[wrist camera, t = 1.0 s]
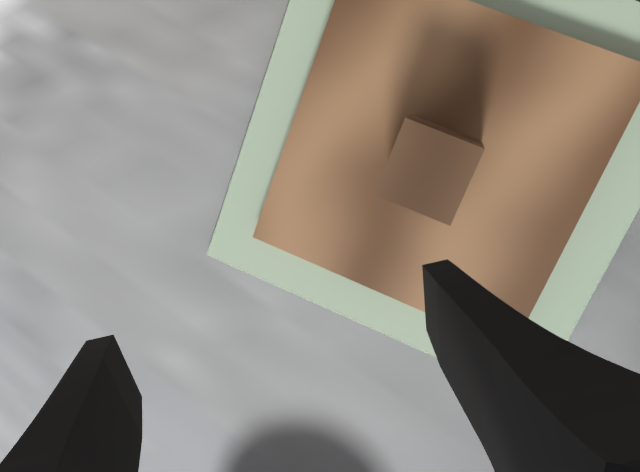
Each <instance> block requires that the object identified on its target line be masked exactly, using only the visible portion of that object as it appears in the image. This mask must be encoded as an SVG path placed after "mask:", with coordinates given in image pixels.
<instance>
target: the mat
mask: <svg viewBox="0 0 640 472" xmlns="http://www.w3.org/2000/svg"><path fill="white" fill-rule="evenodd" d="M334 1H335V0H290V1H289V4H288V7H287V11H286V14H285V17H284V20H283V23H282V26H281V29H280V32H279V35H278V38H277V41H276V44H275V47H274V50H273V53H272V56H271V60H270V63H269V66H268V69H267V72H266V75H265V78H264V81H263V84H262V87H261V90H260V93H259V96H258V99H257V102H256V105H255V109H254V112H253V115H252V118H251V121H250V124H249V127H248V130H247V133H246V136H245V139H244V142H243V145H242V148H241V151H240V154H239V158H238V161H237V164H236V167H235V170H234V173H233V176H232V179H231V182H230V185H229V188H228V191H227V194H226V197H225V200H224V203H223V206H222V210H221V213H220V216H219V219H218V222H217V225H216V228H215V231H214V234H213V237H212V240H211V243H210V246H209V249H208V252H207V255H208V256H210V257H212V258H214V259H217V260H219V261H221V262H223V263H226V264H228V265H230V266H232V267H234V268H237V269H239V270H241V271H243V272H246V273H248V274H250V275H252V276H255V277H257V278H259V279H261V280H264V281H266V282H268V283H270V284H273V285H275V286H277V287H279V288H282V289H284V290H286V291H288V292H291V293H293V294H295V295H297V296H300V297H302V298H304V299H306V300H309V301H311V302H313V303H315V304H317V305H320V306H322V307H324V308H326V309H329V310H331V311H333V312H335V313H338V314H340V315H342V316H344V317H347V318H349V319H351V320H353V321H356V322H358V323H360V324H362V325H365V326H367V327H369V328H371V329H374V330H376V331H378V332H380V333H383V334H385V335H387V336H389V337H392V338H394V339H396V340H398V341H400V342H403V343H405V344H407V345H409V346H412V347H414V348H416V349H418V350H421V351H423V352H425V353H427V354H430V355H432V356H434V357H436V354H435V352H434V349H433V346H432V344H431V341H430V339H429V336H428V333H427V331H426V318H425V312H423V311H421V310H418V309H416V308H414V307H411V306H409V305H407V304H405V303H402V302H400V301H398V300H395V299H393V298H391V297H389V296H386V295H384V294H382V293H379V292H377V291H375V290H373V289H370V288H368V287H366V286H363V285H361V284H359V283H356V282H354V281H352V280H350V279H347V278H345V277H343V276H340V275H338V274H336V273H334V272H331V271H329V270H327V269H324V268H322V267H320V266H318V265H315V264H313V263H311V262H308V261H306V260H304V259H301V258H299V257H297V256H295V255H292V254H290V253H288V252H285V251H283V250H281V249H279V248H276V247H274V246H272V245H269V244H267V243H265V242H263V241H260V240H258V239H256V238H253V234H254V231H255V229H256V226H257V223H258V220H259V217H260V214H261V211H262V208H263V206H264V203H265V200H266V197H267V194H268V191H269V188H270V185H271V182H272V180H273V177H274V174H275V171H276V168H277V165H278V162H279V159H280V157H281V154H282V151H283V148H284V145H285V142H286V139H287V136H288V134H289V131H290V128H291V125H292V122H293V119H294V116H295V113H296V111H297V108H298V105H299V102H300V99H301V96H302V93H303V90H304V88H305V85H306V82H307V79H308V76H309V73H310V70H311V67H312V65H313V62H314V59H315V56H316V53H317V50H318V47H319V44H320V42H321V39H322V36H323V33H324V30H325V27H326V24H327V21H328V19H329V16H330V13H331V10H332V7H333V4H334ZM469 1H472V2H474V3H477V4H480V5H483V6H486V7H488V8H491V9H494V10H497V11H500V12H502V13H505V14H508V15H511V16H514V17H516V18H519V19H522V20H525V21H528V22H530V23H533V24H536V25H539V26H541V27H544V28H547V29H550V30H553V31H555V32H558V33H561V34H564V35H567V36H569V37H572V38H575V39H578V40H581V41H583V42H586V43H589V44H592V45H594V46H597V47H600V48H603V49H606V50H608V51H611V52H614V53H617V54H620V55H622V56H625V57H628V58H631V59H634V60H636V61H639V62H640V2H638V1H636V0H469ZM639 208H640V102H639V104H638V106H637V108H636V110H635V112H634V114H633V116H632V118H631V120H630V122H629V124H628V126H627V128H626V130H625V131H624V133H623V135H622V137H621V139H620V141H619V143H618V145H617V147H616V149H615V151H614V153H613V155H612V157H611V159H610V161H609V163H608V165H607V166H606V168H605V170H604V172H603V174H602V176H601V178H600V180H599V182H598V184H597V186H596V188H595V190H594V192H593V194H592V196H591V198H590V200H589V201H588V203H587V205H586V207H585V209H584V211H583V213H582V215H581V217H580V219H579V221H578V223H577V225H576V227H575V229H574V231H573V233H572V234H571V236H570V238H569V240H568V242H567V244H566V246H565V248H564V250H563V252H562V254H561V256H560V258H559V260H558V262H557V264H556V266H555V268H554V269H553V271H552V273H551V275H550V277H549V279H548V281H547V283H546V285H545V287H544V289H543V291H542V293H541V295H540V297H539V299H538V301H537V303H536V304H535V306H534V308H533V310H532V312H531V314H530V316H529V319H530V320H532V321H533V322H535V323H537V324H538V325H540V326H541V327H543V328H545V329H546V330H548V331H550V332H552V333H553V334H555V335H557V336H559V337H560V338H562V339H564V340H566V341H568V339H569V337H570V335H571V333H572V331H573V330H574V328H575V326H576V324H577V322H578V320H579V319H580V317H581V315H582V313H583V311H584V309H585V307H586V306H587V304H588V302H589V300H590V298H591V296H592V295H593V293H594V291H595V289H596V287H597V285H598V284H599V282H600V280H601V278H602V276H603V274H604V272H605V271H606V269H607V267H608V265H609V263H610V261H611V260H612V258H613V256H614V254H615V252H616V250H617V249H618V247H619V245H620V243H621V241H622V239H623V237H624V236H625V234H626V232H627V230H628V228H629V226H630V225H631V223H632V221H633V219H634V217H635V215H636V214H637V212H638V210H639ZM436 358H437V357H436Z"/></svg>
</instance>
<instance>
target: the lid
mask: <svg viewBox="0 0 640 472" xmlns="http://www.w3.org/2000/svg"><path fill="white" fill-rule="evenodd" d="M639 102H640V62H639V61H636V60H634V59H631V58H628V57H625V56H622V55H620V54H617V53H614V52H611V51H608V50H606V49H603V48H600V47H597V46H594V45H592V44H589V43H586V42H583V41H581V40H578V39H575V38H572V37H569V36H567V35H564V34H561V33H558V32H555V31H553V30H550V29H547V28H544V27H541V26H539V25H536V24H533V23H530V22H528V21H525V20H522V19H519V18H516V17H514V16H511V15H508V14H505V13H502V12H500V11H497V10H494V9H491V8H488V7H486V6H483V5H480V4H477V3H474V2H472V1H469V0H335V1H334V4H333V7H332V10H331V13H330V16H329V19H328V21H327V24H326V27H325V30H324V33H323V36H322V39H321V42H320V44H319V47H318V50H317V53H316V56H315V59H314V62H313V65H312V67H311V70H310V73H309V76H308V79H307V82H306V85H305V88H304V90H303V93H302V96H301V99H300V102H299V105H298V108H297V111H296V113H295V116H294V119H293V122H292V125H291V128H290V131H289V134H288V136H287V139H286V142H285V145H284V148H283V151H282V154H281V157H280V159H279V162H278V165H277V168H276V171H275V174H274V177H273V180H272V182H271V185H270V188H269V191H268V194H267V197H266V200H265V203H264V206H263V208H262V211H261V214H260V217H259V220H258V223H257V226H256V229H255V231H254V234H253V238H256V239H258V240H260V241H263V242H265V243H267V244H269V245H272V246H274V247H276V248H279V249H281V250H283V251H285V252H288V253H290V254H292V255H295V256H297V257H299V258H301V259H304V260H306V261H308V262H311V263H313V264H315V265H318V266H320V267H322V268H324V269H327V270H329V271H331V272H334V273H336V274H338V275H340V276H343V277H345V278H347V279H350V280H352V281H354V282H356V283H359V284H361V285H363V286H366V287H368V288H370V289H373V290H375V291H377V292H379V293H382V294H384V295H386V296H389V297H391V298H393V299H395V300H398V301H400V302H402V303H405V304H407V305H409V306H411V307H414V308H416V309H418V310H421V311H423V312H425V302H424V286H423V270H422V265H424V264H429V263H433V262H437V261H442V260H446V259H448V260H449V261H451V262H452V263H453V264H455V265H456V266H457V267H459V268H460V269H461V270H462V271H464V272H465V273H466V274H468V275H469V276H470V277H471V278H473V279H474V280H475V281H477V282H478V283H479V284H480V285H482V286H483V287H484V288H486V289H487V290H488V291H490V292H491V293H492V294H494V295H495V296H497V297H498V298H499V299H501V300H502V301H504V302H505V303H507V304H508V305H509V306H511V307H512V308H514V309H515V310H517V311H518V312H520V313H521V314H523V315H524V316H526V317H527V318H529V316H530V314H531V312H532V310H533V308H534V306H535V304H536V303H537V301H538V299H539V297H540V295H541V293H542V291H543V289H544V287H545V285H546V283H547V281H548V279H549V277H550V275H551V273H552V271H553V269H554V268H555V266H556V264H557V262H558V260H559V258H560V256H561V254H562V252H563V250H564V248H565V246H566V244H567V242H568V240H569V238H570V236H571V234H572V233H573V231H574V229H575V227H576V225H577V223H578V221H579V219H580V217H581V215H582V213H583V211H584V209H585V207H586V205H587V203H588V201H589V200H590V198H591V196H592V194H593V192H594V190H595V188H596V186H597V184H598V182H599V180H600V178H601V176H602V174H603V172H604V170H605V168H606V166H607V165H608V163H609V161H610V159H611V157H612V155H613V153H614V151H615V149H616V147H617V145H618V143H619V141H620V139H621V137H622V135H623V133H624V131H625V130H626V128H627V126H628V124H629V122H630V120H631V118H632V116H633V114H634V112H635V110H636V108H637V106H638V104H639Z"/></svg>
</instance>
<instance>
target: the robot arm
mask: <svg viewBox="0 0 640 472" xmlns="http://www.w3.org/2000/svg"><path fill="white" fill-rule="evenodd" d="M422 270H423V286H424V302H425V318H426V331H427V333H428V336H429V339H430V341H431V344H432V346H433V349H434V352H435V354H436V357H437V359H438V362H439V364H440V367H441V369H442V371H443V373H444V374H445V376H446V378H447V380H448V382H449V384H450V386H451V388H452V389H453V391H454V393H455V395H456V397H457V399H458V401H459V402H460V404H461V406H462V408H463V410H464V412H465V413H466V415H467V417H468V419H469V421H470V423H471V425H472V426H473V428H474V430H475V432H476V434H477V436H478V437H479V439H480V441H481V443H482V445H483V447H484V449H485V451H486V453H487V455H488V457H489V459H490V461H491V463H492V466H493V468H494V471H495V472H640V374H639V373H636V372H633V371H631V370H628V369H626V368H624V367H621V366H619V365H617V364H614V363H612V362H610V361H607V360H605V359H603V358H601V357H598V356H596V355H594V354H592V353H590V352H588V351H586V350H584V349H582V348H580V347H578V346H576V345H574V344H572V343H570V342H568V341H566V340H564V339H562V338H560V337H559V336H557V335H555V334H553V333H552V332H550V331H548V330H546V329H545V328H543V327H541V326H540V325H538V324H537V323H535V322H533V321H532V320H530V319H529V318H527V317H526V316H524V315H523V314H521V313H520V312H518V311H517V310H515V309H514V308H512V307H511V306H509V305H508V304H507V303H505V302H504V301H502V300H501V299H499V298H498V297H497V296H495V295H494V294H492V293H491V292H490V291H488V290H487V289H486V288H484V287H483V286H482V285H480V284H479V283H478V282H477V281H475V280H474V279H473V278H471V277H470V276H469V275H468V274H466V273H465V272H464V271H462V270H461V269H460V268H459V267H457V266H456V265H455V264H453V263H452V262H451V261H449V260H448V259H446V260H442V261H437V262H433V263H429V264H424V265H422ZM141 443H142V396H141V394H140V392H139V389H138V387H137V385H136V383H135V381H134V379H133V376H132V374H131V372H130V370H129V368H128V366H127V363H126V361H125V359H124V357H123V355H122V352H121V350H120V348H119V346H118V344H117V342H116V339H115V337H114V335H110V336H106V337H101V338H97V339H93V340H88V341H86V342H85V344H84V345H83V347H82V348H81V350H80V351H79V353H78V354H77V356H76V357H75V359H74V360H73V362H72V363H71V365H70V366H69V368H68V369H67V371H66V373H65V374H64V376H63V377H62V379H61V380H60V382H59V383H58V385H57V386H56V388H55V389H54V391H53V392H52V394H51V395H50V397H49V398H48V400H47V401H46V403H45V404H44V406H43V407H42V408H41V410H40V411H39V413H38V414H37V416H36V417H35V419H34V420H33V421H32V423H31V424H30V425H29V427H28V428H27V429H26V431H25V432H24V433H23V435H22V436H21V437H20V439H19V440H18V441H17V443H16V444H15V445H14V447H13V448H12V449H11V451H10V452H9V453H8V455H7V456H6V457H5V458H4V460H3V461H2V462H1V463H0V472H138V468H139V460H140V452H141Z"/></svg>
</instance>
